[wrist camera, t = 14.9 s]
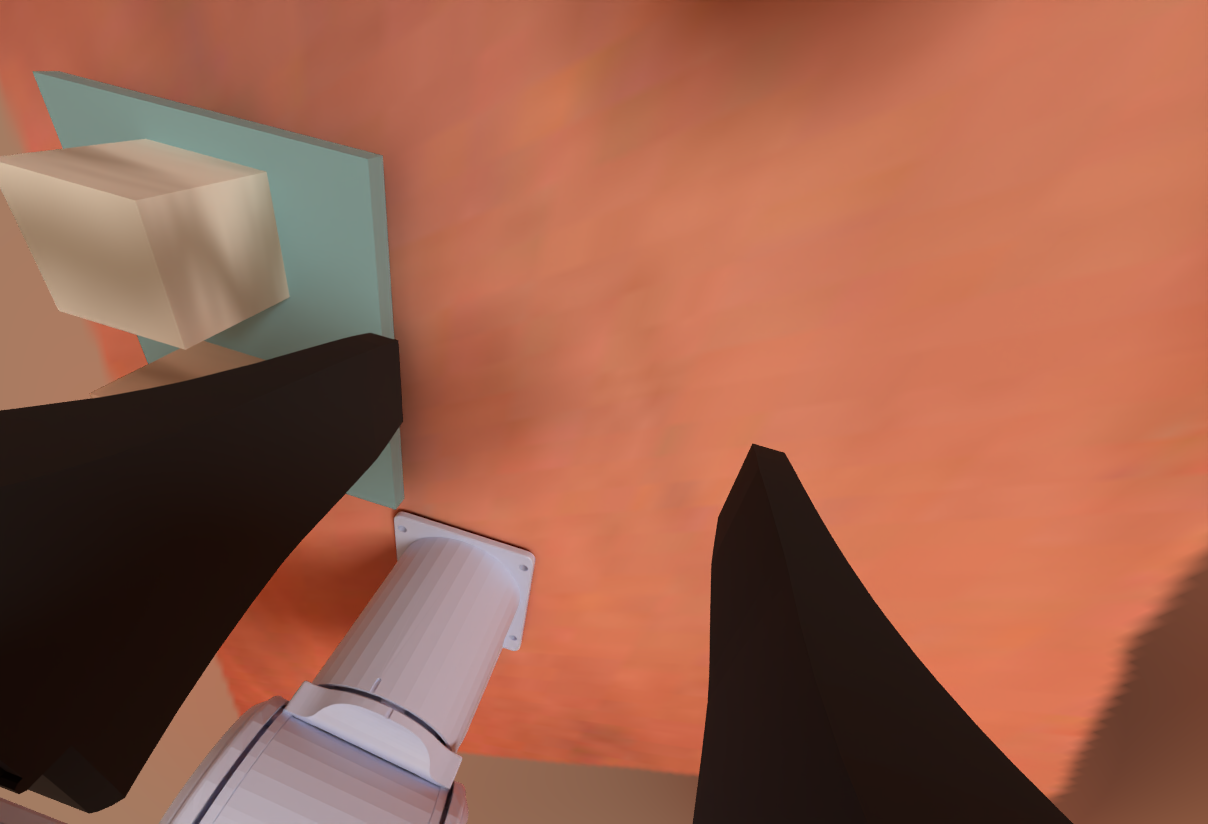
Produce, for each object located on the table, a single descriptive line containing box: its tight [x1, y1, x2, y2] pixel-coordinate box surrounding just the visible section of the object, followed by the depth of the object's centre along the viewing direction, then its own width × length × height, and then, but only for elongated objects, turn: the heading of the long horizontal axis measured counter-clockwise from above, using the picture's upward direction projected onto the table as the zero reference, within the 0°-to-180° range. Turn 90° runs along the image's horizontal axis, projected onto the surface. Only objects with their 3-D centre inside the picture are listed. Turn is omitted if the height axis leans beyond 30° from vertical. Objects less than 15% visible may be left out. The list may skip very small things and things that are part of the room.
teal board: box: [33, 71, 404, 510], centre depth 22 cm, size 16×12×2 cm
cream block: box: [0, 139, 290, 350], centre depth 17 cm, size 4×4×4 cm
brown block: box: [90, 341, 265, 398], centre depth 21 cm, size 4×4×4 cm
